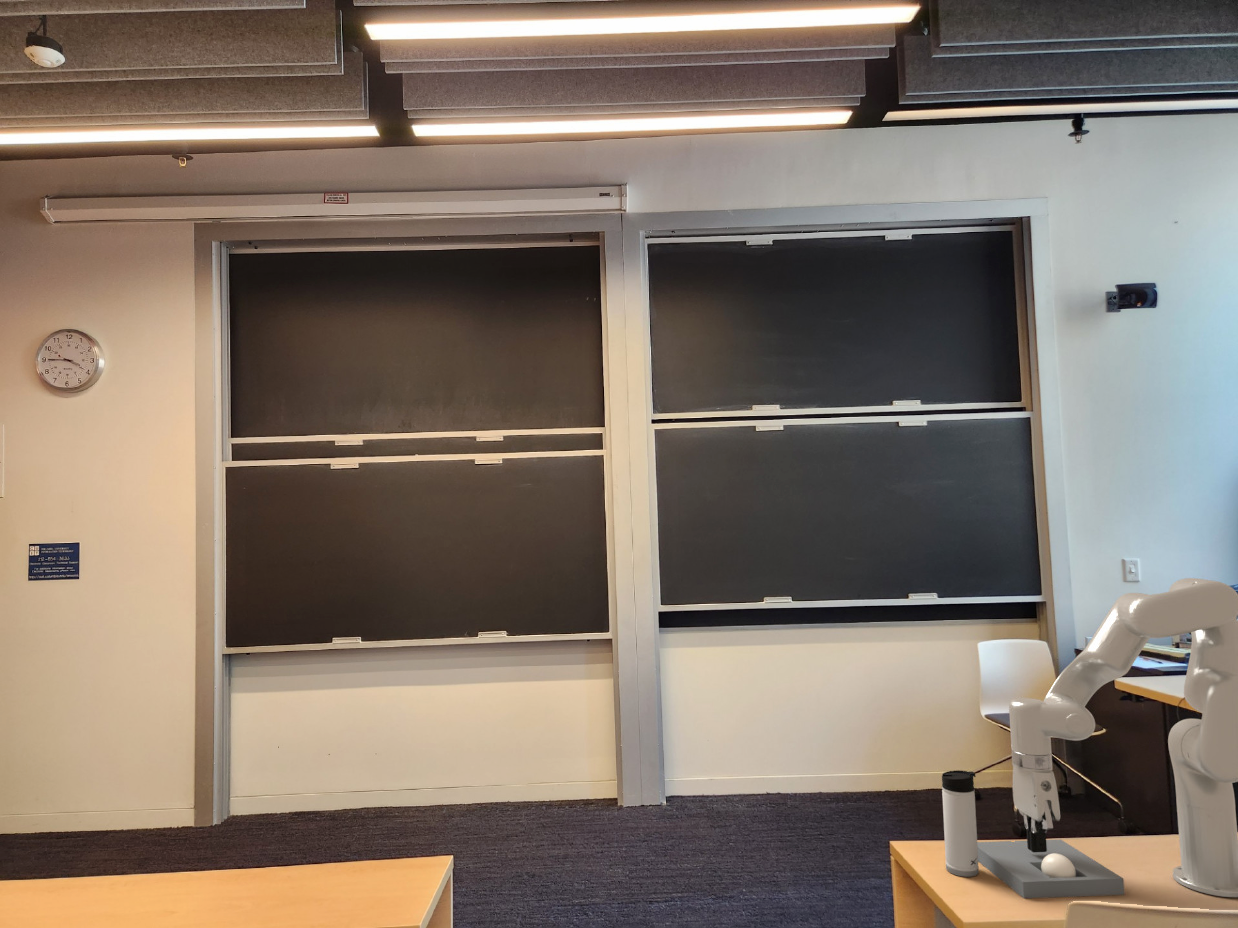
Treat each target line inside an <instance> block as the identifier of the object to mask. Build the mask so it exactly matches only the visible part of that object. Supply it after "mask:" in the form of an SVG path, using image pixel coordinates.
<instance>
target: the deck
mask: <svg viewBox="0 0 1238 928" xmlns="http://www.w3.org/2000/svg"><path fill="white" fill-rule="evenodd" d="M1011 841H1012V840H1010V841H1009V840H1004V841H1002V840H1001V841H977V848H978V863H979V864H980V865H982V866H983V867H984V866H985V867H984V868H986V869H987V870H988V871H990V872H991V873H992V874H993V875H995V876H996V878H998V879H999V880H1001V881H1002V882H1003V883H1004V884H1005V885H1007V886H1008V888H1010V889H1012V890H1013V891H1014V892H1015V893H1017V894H1018V895H1019V896H1021V897H1022V898H1023V899H1037V898H1039V899H1041V898H1043V899H1044V898H1045V899H1046V898H1066V897H1068V898H1070V897H1092V896H1095V897H1097V896H1124V895H1125V882H1124V878H1123V877H1122V876H1120V875H1119V874H1117V873H1115V872H1113V870H1111V869H1109V868H1107V867H1106V866H1104V865H1103V864H1101V863H1099V862H1098V861H1096V860H1094V858H1091V857H1090V856H1088V855H1086V854H1085V853H1084V852H1082V851H1080V850H1078V849H1077V848H1076V847H1073V846H1072V845H1070V844H1069V843H1067V842H1066V841H1064V840H1062V839H1060V838H1059V839H1046V845H1047V851H1046V852H1032V851H1031V850H1029V849H1028V847H1027V840H1014V841H1015V842H1011ZM1053 853H1056V854H1061V855H1063V856H1065V857H1067V858H1068V859H1069V860H1070V861H1071V862H1072V864H1073V865H1074V868H1075V871H1076V877H1065V878H1050V877H1049V876H1047V875H1046V874H1044V873H1043V872H1042V869H1041V864H1042V861H1043V859H1044V858H1045V857H1046V856H1047V855H1049V854H1053Z"/></svg>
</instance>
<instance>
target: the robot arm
mask: <svg viewBox="0 0 1238 928" xmlns="http://www.w3.org/2000/svg"><path fill="white" fill-rule="evenodd" d="M1237 616H1238V593H1237V592H1236V590H1235V589H1234V588H1233V587H1231V586H1230V585H1228V584H1227V583H1224V582H1221V581H1217V580H1211V579H1204V578H1203V579H1202V578H1197V577H1188V578H1187V577H1186V578H1181V579H1178V580H1176V581H1175V582H1173V583H1172V584H1171V585H1170V587H1169V590H1168V591H1166V592H1160V593H1154V594H1153V593H1152V594H1147V593H1141V592H1128V593H1124V594H1122V595H1120V596H1119V597H1118V598H1117V599H1116V600H1115V602H1114V603H1113V604H1112V606H1111V607H1110V609H1109V611H1108V612H1107V614H1106V616H1105V617H1104V618H1103V620H1102V622H1101V623H1100V625H1099V626H1098V628H1097V629H1096V631H1095V632H1094V634H1093V636H1091V639H1090V640H1089V641H1088V643H1087V645H1086V646H1085V648H1084V649H1083V650H1082V651H1081V652H1080V653H1079V654H1078V655H1077V656H1076V657H1075V658H1074V659H1073V660H1072V661H1071V662H1070V663H1069V664H1068V665H1067V666H1066V667H1065V668H1064V669H1063V670H1062V671H1061V673H1060V674H1059V675H1058V677H1057V678H1056V679H1055V680H1054V682H1053V684H1052V686H1051V687H1050V689H1049V690H1048V692H1047V694H1046V695H1045V697H1044V699H1043V700H1041V699H1038V698H1029V697H1028V698H1027V697H1018V698H1013V699H1012V700H1011V701H1010V702H1009V703H1008V709H1009V710H1008V712H1009V713H1008V714H1009V715H1008V716H1009V730H1010V746H1011V748H1010V749H1011V765H1012V798H1013V799H1012V800H1013V805H1014V807H1015V808H1016V809H1017V810H1018V812H1019V814H1020V815H1021V816H1022V818H1023V821H1024V827H1025V829H1026V841H1027V847H1028V849H1029V850H1031V851H1032V852H1046V851H1047V845H1046V840H1047V833H1048V830H1053V829H1054V825H1053V821H1056V822H1059V821H1060V819H1061V811H1060V809H1061V808H1060V801H1059V799H1060V798H1059V794H1058V793H1059V792H1058V787H1057V781H1056V777H1055V773H1054V771H1053V755H1052V754H1053V753H1052V743H1051V742H1052V740H1051V738H1058V739H1063V740H1067V741H1083V740H1086V739H1089V737H1091V736H1092V735H1093V733H1094V732H1095V729H1096V721H1095V718H1094V716H1093V714H1092V713H1091V712H1090V711H1089V710H1088V709H1087V708H1086V706H1087V704H1088V702H1089V701H1090V700H1091V698H1092V697H1093V695H1094V694H1096V692H1097V691H1098V690H1099V689H1101V687H1103V686H1104V685H1106V684H1107V683H1109V682H1112V681H1114V680H1118V679H1119V678H1121V677H1123V676H1125V675H1126V674H1128V672H1129V671H1130V670H1131V668H1132V666H1133V665H1134V663H1135V661H1136V660H1137V658H1138V657H1139V655H1140V653H1141V652H1142V651H1143V649H1144V647H1145V645H1146V644H1147V643H1148V641H1149V640H1150V639H1163V638H1169V637H1175V636H1180V635H1185V634H1190V635H1191V645H1190V646H1191V647H1190V655H1189V659H1188V664H1187V670H1186V675H1185V679H1184V684H1183V696H1184V698H1185V701H1186V702H1187V704H1189V706H1190V707H1191V708H1192V709H1194V710H1196V711H1197V712H1198V713H1201V715H1202V716H1201V719H1200V718H1185V719H1182V720H1180V721H1178V722H1177V723H1175V724H1174V725H1173V726H1172V727H1171V728H1170V731H1169V733H1168V739H1167V743H1168V751H1169V756H1170V761H1171V766H1172V770H1173V771H1172V772H1173V777H1174V785H1175V797H1176V812H1177V828H1178V839H1179V850H1180V852H1179V853H1180V863H1181V864H1180V865H1179V866H1176V867H1173V869H1172V877H1173V879H1174V880H1175V881H1176V882H1177V883H1178V884H1180V885H1182V886H1183V887H1186V888H1189V889H1191V890H1193V891H1196V892H1199V893H1202V894H1203V893H1204V894H1207V895H1211V896H1216V897H1223V898H1238V825H1237V814H1236V798H1235V791H1234V786H1233V783H1238V619H1237Z"/></svg>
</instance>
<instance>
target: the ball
mask: <svg viewBox="0 0 1238 928" xmlns="http://www.w3.org/2000/svg"><path fill="white" fill-rule="evenodd" d="M1041 869H1042V872H1043V873H1044V874H1046V875H1047V876H1049V877H1050V878H1065V877H1076V871H1075V868H1074V865H1073V864H1072V862H1071V861H1070V860H1069V859H1068V858H1067V857H1065V856H1063V855H1061V854H1056V853H1053V854H1049V855H1047V856H1046V857H1045V858H1044V859H1043V861H1042V864H1041Z"/></svg>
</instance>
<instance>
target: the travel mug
mask: <svg viewBox="0 0 1238 928" xmlns="http://www.w3.org/2000/svg"><path fill="white" fill-rule="evenodd" d="M974 778H976V774H975V772H974V771H972V770H971V771H968V770H959V769H958V770H948V771H946V772H943V773H942V774H941V782H942V783H941V789H942V790H941V792H942V793H941V795H942V813H943V831H944V832H943V833H944V851H945V852H944V853H945V854H944V855H945V856H944V857H945V869H946V871H948V872H949V873H950V874H952V875H955V876H958V877H963V878H965V877H966V878H971V877H975V876H977V875H979V874H980V873H979V862H978V848H977V842H978V833H977V830H978V829H977V816H976V815H977V813H976V796H975V795H976V794H975V785H974V784H975V782H974Z"/></svg>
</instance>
